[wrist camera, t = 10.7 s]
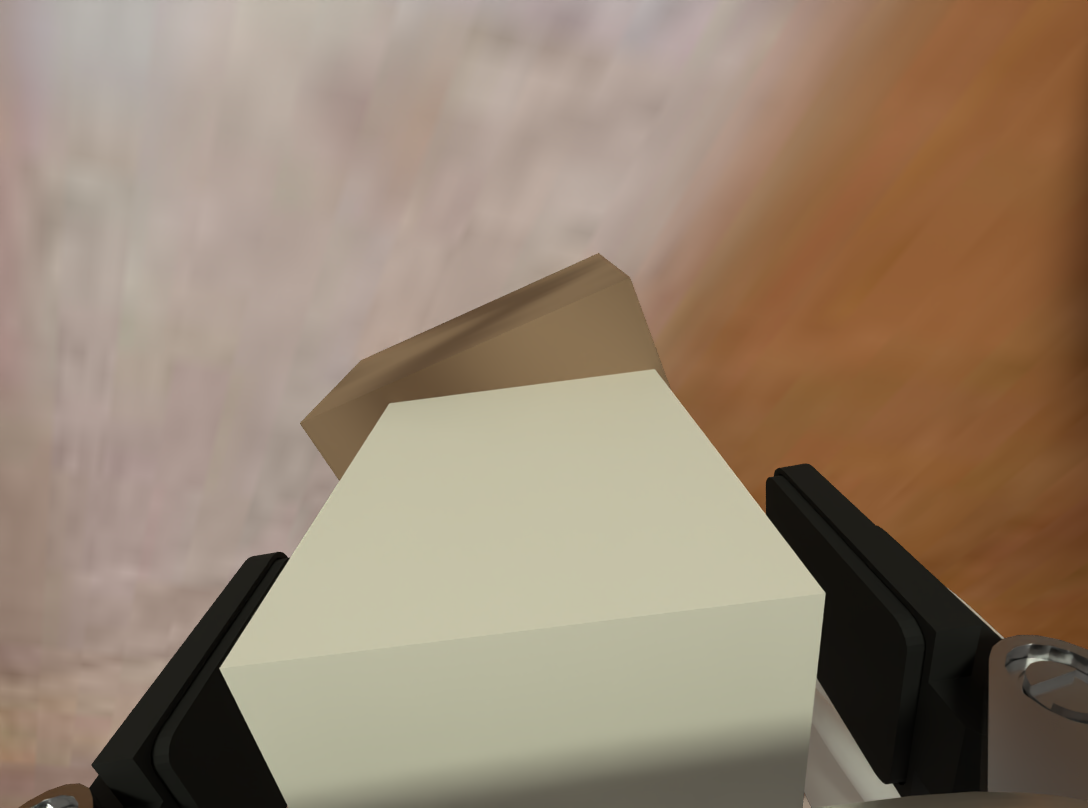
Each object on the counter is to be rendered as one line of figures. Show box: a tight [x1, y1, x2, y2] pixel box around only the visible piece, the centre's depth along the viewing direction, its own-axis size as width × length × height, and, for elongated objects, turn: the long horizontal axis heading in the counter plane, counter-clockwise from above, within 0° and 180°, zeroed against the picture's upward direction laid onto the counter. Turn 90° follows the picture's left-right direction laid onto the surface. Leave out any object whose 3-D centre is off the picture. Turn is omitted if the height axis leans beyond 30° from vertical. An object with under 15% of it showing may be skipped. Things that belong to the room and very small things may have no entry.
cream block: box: [219, 369, 826, 808], centre depth 9 cm, size 6×6×7 cm
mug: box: [804, 587, 1004, 808], centre depth 16 cm, size 9×12×11 cm
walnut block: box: [300, 253, 671, 481], centre depth 15 cm, size 8×8×5 cm
